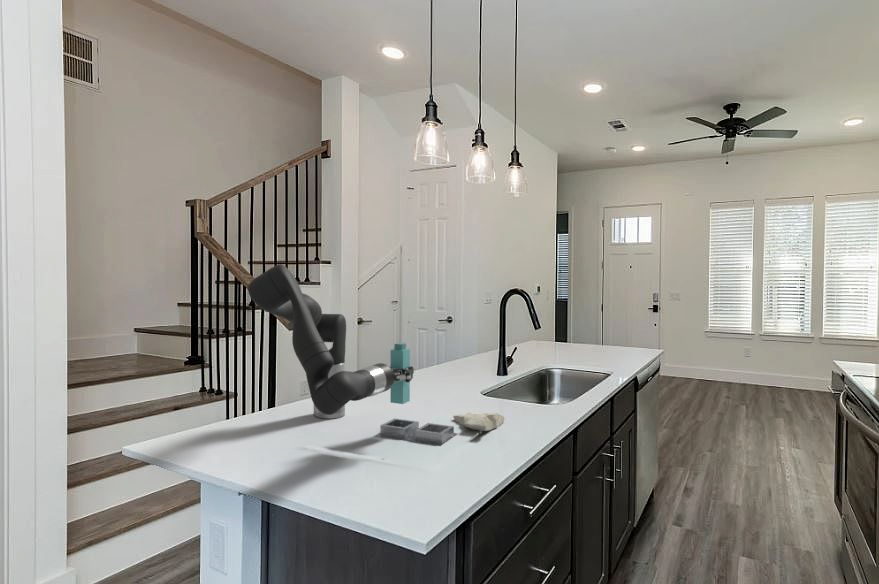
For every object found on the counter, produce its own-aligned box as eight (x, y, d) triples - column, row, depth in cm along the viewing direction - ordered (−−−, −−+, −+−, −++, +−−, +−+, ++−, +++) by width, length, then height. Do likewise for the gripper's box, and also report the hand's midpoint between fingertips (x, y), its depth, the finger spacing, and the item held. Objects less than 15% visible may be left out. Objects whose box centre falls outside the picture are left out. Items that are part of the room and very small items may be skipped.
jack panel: (375, 440, 145) (375, 427, 145) (396, 428, 156) (396, 416, 156) (440, 450, 137) (440, 436, 137) (458, 437, 148) (458, 424, 148)
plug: (390, 402, 147) (390, 344, 147) (397, 399, 151) (397, 342, 151) (402, 404, 146) (403, 344, 145) (409, 401, 149) (409, 343, 149)
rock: (437, 434, 152) (483, 437, 145) (436, 418, 153) (483, 420, 145) (469, 422, 171) (512, 424, 164) (468, 407, 171) (511, 409, 164)
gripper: (397, 367, 132) (427, 358, 148) (350, 363, 138) (383, 354, 154) (397, 397, 132) (427, 384, 148) (350, 391, 138) (383, 380, 154)
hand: (404, 369), depth 151 cm, fingers closed on plug, 4 cm apart
